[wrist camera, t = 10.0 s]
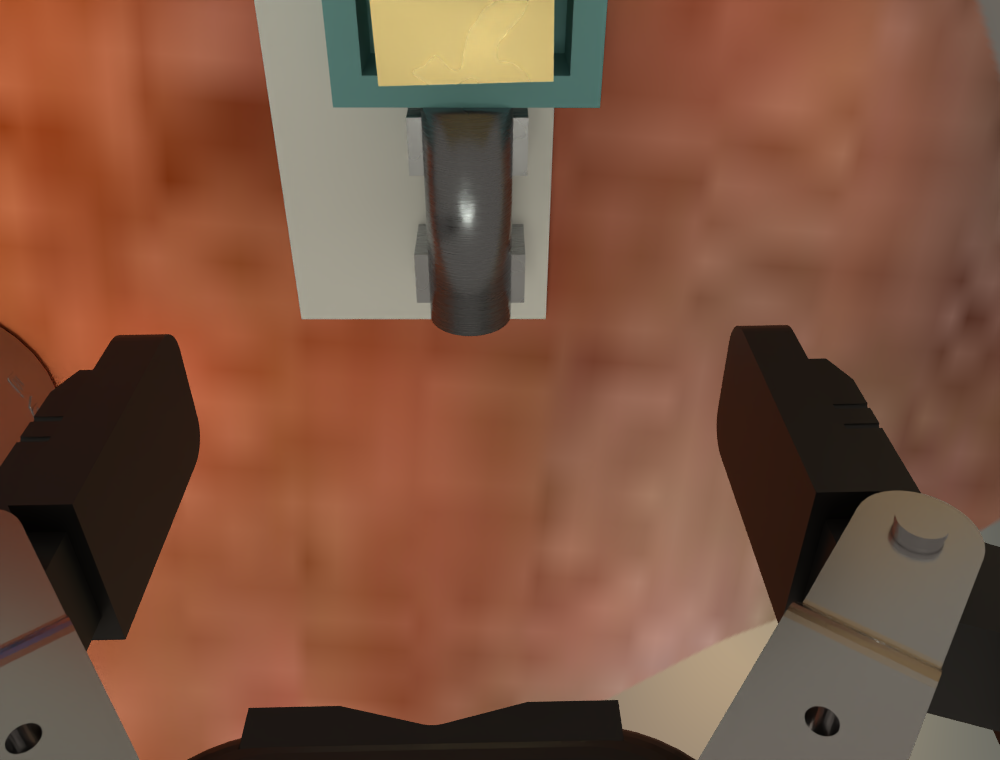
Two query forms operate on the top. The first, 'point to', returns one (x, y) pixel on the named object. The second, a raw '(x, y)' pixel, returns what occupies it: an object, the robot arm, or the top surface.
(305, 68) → the base plate
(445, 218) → the shaft
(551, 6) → the yellow cube
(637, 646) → the top surface
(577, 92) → the cradle
